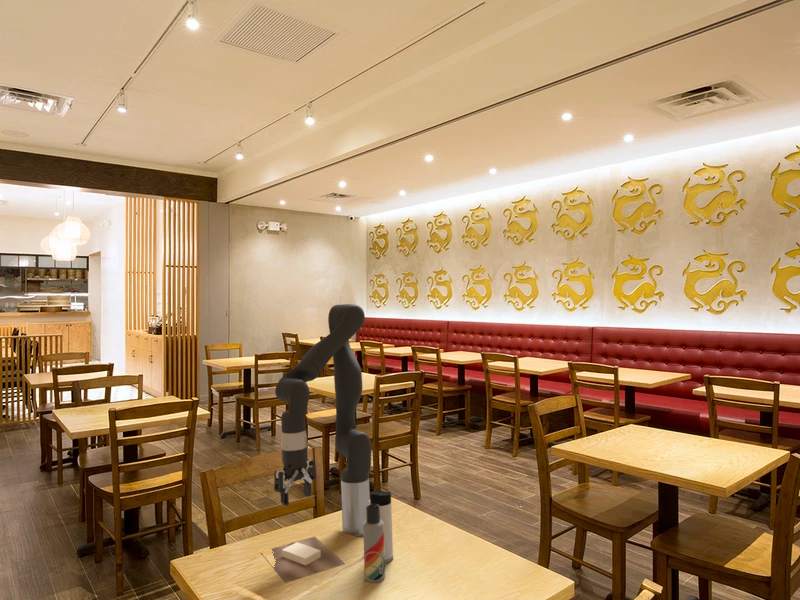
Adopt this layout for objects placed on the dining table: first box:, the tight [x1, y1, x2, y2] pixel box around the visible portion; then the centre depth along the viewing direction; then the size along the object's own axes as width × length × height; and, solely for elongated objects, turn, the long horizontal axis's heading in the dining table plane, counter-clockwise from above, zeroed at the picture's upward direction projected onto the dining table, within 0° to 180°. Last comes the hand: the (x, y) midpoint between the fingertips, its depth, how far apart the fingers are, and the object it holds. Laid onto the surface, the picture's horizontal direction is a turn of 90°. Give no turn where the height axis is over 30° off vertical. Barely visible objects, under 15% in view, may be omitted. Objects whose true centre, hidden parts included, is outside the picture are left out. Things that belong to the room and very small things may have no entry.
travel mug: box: [369, 489, 394, 564], centre depth 159 cm, size 6×7×20 cm
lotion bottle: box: [362, 503, 386, 583], centre depth 148 cm, size 6×6×20 cm
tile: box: [282, 541, 321, 565], centre depth 159 cm, size 2×6×10 cm
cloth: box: [271, 536, 346, 583], centre depth 159 cm, size 18×22×1 cm
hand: (296, 500), depth 160 cm, fingers open, 8 cm apart
